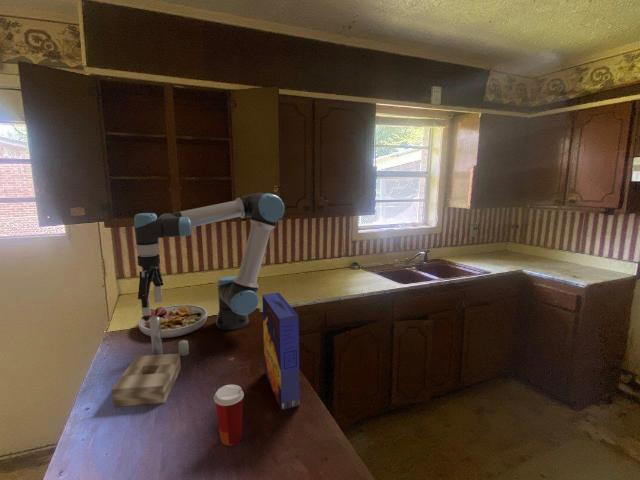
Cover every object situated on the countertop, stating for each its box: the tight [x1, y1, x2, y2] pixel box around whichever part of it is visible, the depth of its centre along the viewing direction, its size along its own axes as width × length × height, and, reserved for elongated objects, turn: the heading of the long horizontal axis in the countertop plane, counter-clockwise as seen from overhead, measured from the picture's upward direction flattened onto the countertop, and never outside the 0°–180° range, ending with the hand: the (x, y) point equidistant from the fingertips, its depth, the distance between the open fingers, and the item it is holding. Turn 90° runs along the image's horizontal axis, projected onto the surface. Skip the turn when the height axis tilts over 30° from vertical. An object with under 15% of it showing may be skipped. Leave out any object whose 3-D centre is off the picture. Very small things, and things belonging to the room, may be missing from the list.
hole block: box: [111, 352, 182, 408], centre depth 118 cm, size 15×20×6 cm
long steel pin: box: [149, 316, 164, 355], centre depth 137 cm, size 4×4×16 cm
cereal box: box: [261, 292, 301, 411], centre depth 115 cm, size 22×6×30 cm, turn 22°
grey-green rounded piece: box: [177, 339, 190, 357], centre depth 139 cm, size 4×4×5 cm
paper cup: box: [213, 384, 245, 447], centre depth 94 cm, size 8×8×14 cm
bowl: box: [138, 304, 208, 339], centre depth 165 cm, size 30×30×8 cm
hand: (152, 308), depth 135 cm, fingers open, 13 cm apart
